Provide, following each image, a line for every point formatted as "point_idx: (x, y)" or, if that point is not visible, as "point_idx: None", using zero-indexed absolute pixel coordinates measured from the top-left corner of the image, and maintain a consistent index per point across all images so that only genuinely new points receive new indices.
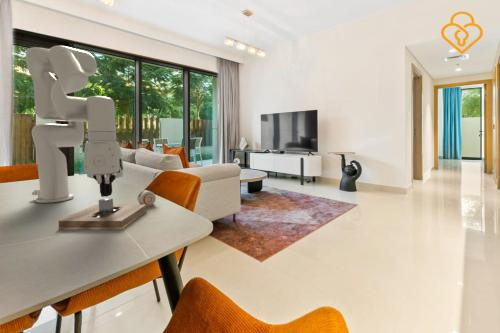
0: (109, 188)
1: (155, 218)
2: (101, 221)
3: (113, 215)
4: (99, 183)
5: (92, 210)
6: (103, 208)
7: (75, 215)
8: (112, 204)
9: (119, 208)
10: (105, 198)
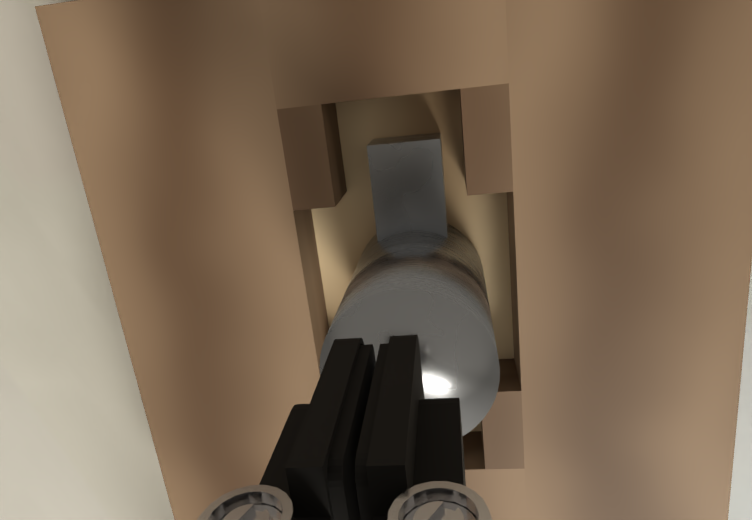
0: (276, 452)
1: (15, 328)
2: None
3: (252, 184)
4: (445, 499)
5: (613, 340)
6: (397, 256)
7: (697, 139)
8: None
9: None
10: None
